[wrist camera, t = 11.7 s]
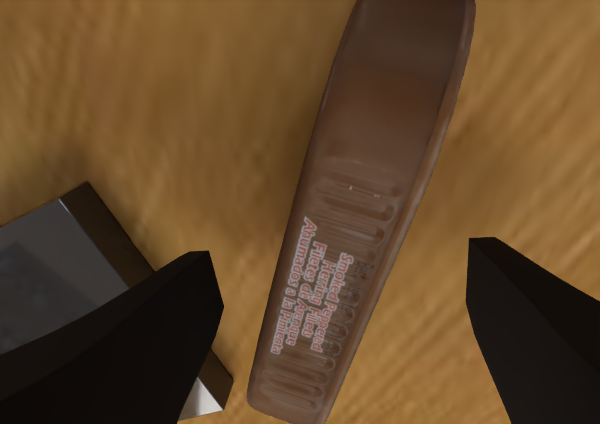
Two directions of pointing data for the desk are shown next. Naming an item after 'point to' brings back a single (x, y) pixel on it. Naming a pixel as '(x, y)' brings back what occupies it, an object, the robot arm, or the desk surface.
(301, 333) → the tin
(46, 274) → the stove
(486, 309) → the robot arm
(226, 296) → the desk surface
